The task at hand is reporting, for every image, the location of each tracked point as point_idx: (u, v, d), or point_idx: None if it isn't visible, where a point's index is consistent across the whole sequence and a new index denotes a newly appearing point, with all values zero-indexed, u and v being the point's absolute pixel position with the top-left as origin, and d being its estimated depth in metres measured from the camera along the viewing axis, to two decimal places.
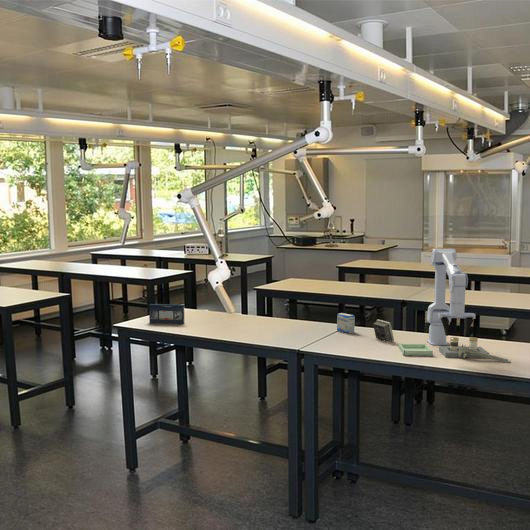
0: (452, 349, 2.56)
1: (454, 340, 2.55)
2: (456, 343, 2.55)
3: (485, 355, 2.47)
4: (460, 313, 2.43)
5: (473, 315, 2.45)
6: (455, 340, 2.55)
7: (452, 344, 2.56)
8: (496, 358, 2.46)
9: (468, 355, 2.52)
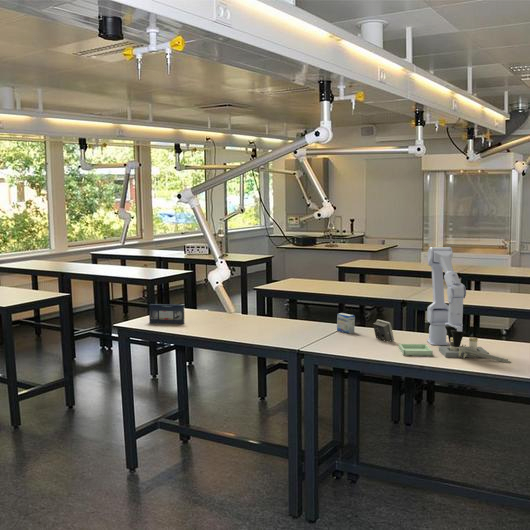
0: (452, 349, 2.56)
1: None
2: None
3: (485, 355, 2.47)
4: (449, 322, 2.55)
5: (456, 327, 2.50)
6: None
7: (452, 344, 2.56)
8: (496, 358, 2.46)
9: (468, 355, 2.52)
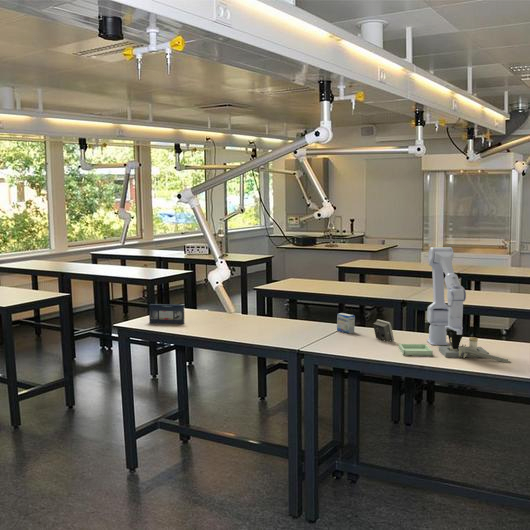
0: (452, 349, 2.56)
1: None
2: None
3: (485, 355, 2.47)
4: (448, 325, 2.55)
5: (456, 330, 2.50)
6: None
7: None
8: (496, 358, 2.46)
9: (468, 355, 2.52)
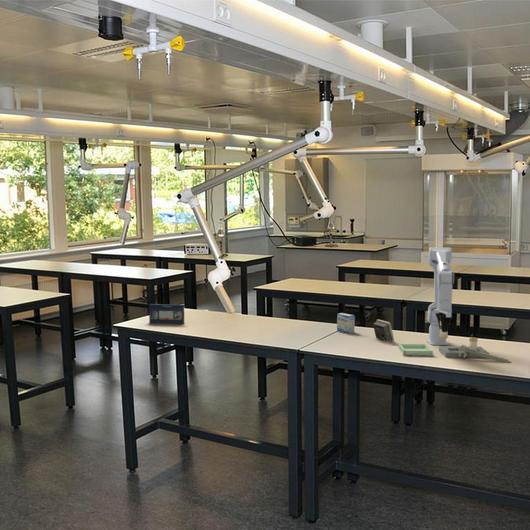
0: (442, 332, 2.56)
1: None
2: None
3: (485, 355, 2.47)
4: (438, 308, 2.55)
5: (446, 313, 2.50)
6: None
7: None
8: (496, 358, 2.46)
9: (468, 355, 2.52)
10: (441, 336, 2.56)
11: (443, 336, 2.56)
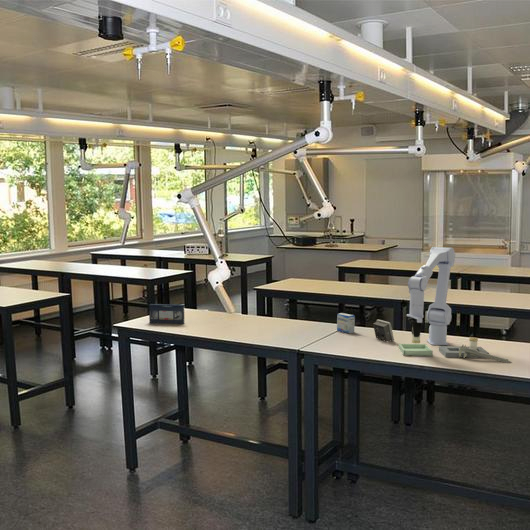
0: (414, 337, 2.58)
1: None
2: None
3: (485, 355, 2.47)
4: (410, 313, 2.57)
5: (417, 318, 2.52)
6: None
7: None
8: (496, 358, 2.46)
9: (468, 355, 2.52)
10: (413, 341, 2.58)
11: (415, 341, 2.58)
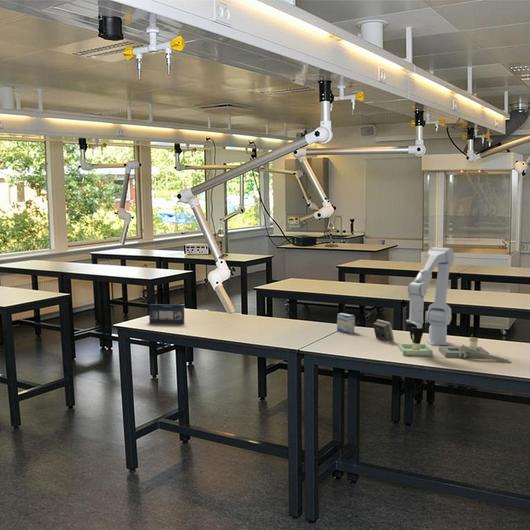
0: (414, 346, 2.58)
1: None
2: None
3: (485, 355, 2.47)
4: (410, 319, 2.58)
5: (416, 324, 2.52)
6: None
7: None
8: (496, 358, 2.46)
9: (468, 355, 2.52)
10: (413, 349, 2.59)
11: (415, 349, 2.58)
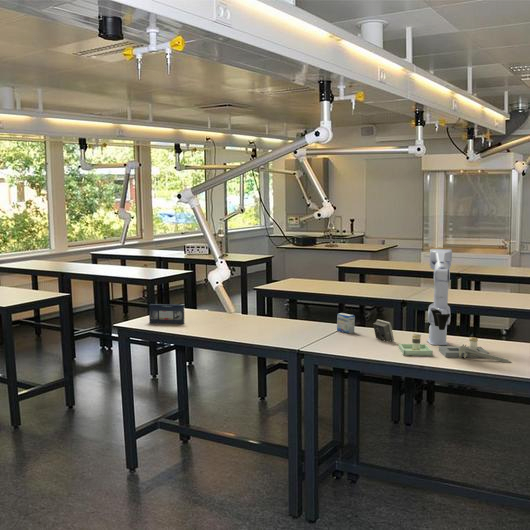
0: (414, 346, 2.58)
1: (416, 337, 2.57)
2: (418, 340, 2.58)
3: (485, 355, 2.47)
4: (434, 305, 2.59)
5: (441, 310, 2.54)
6: (417, 337, 2.57)
7: (414, 341, 2.58)
8: (496, 358, 2.46)
9: (468, 355, 2.52)
10: (413, 349, 2.59)
11: None
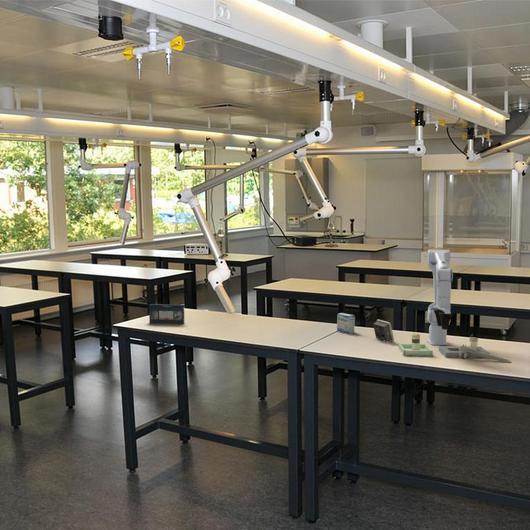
0: (413, 346, 2.58)
1: (415, 337, 2.58)
2: (417, 340, 2.58)
3: (485, 355, 2.47)
4: (437, 305, 2.59)
5: (444, 310, 2.54)
6: (416, 337, 2.57)
7: (413, 341, 2.58)
8: (496, 358, 2.46)
9: (468, 355, 2.52)
10: (413, 349, 2.59)
11: (415, 349, 2.58)
